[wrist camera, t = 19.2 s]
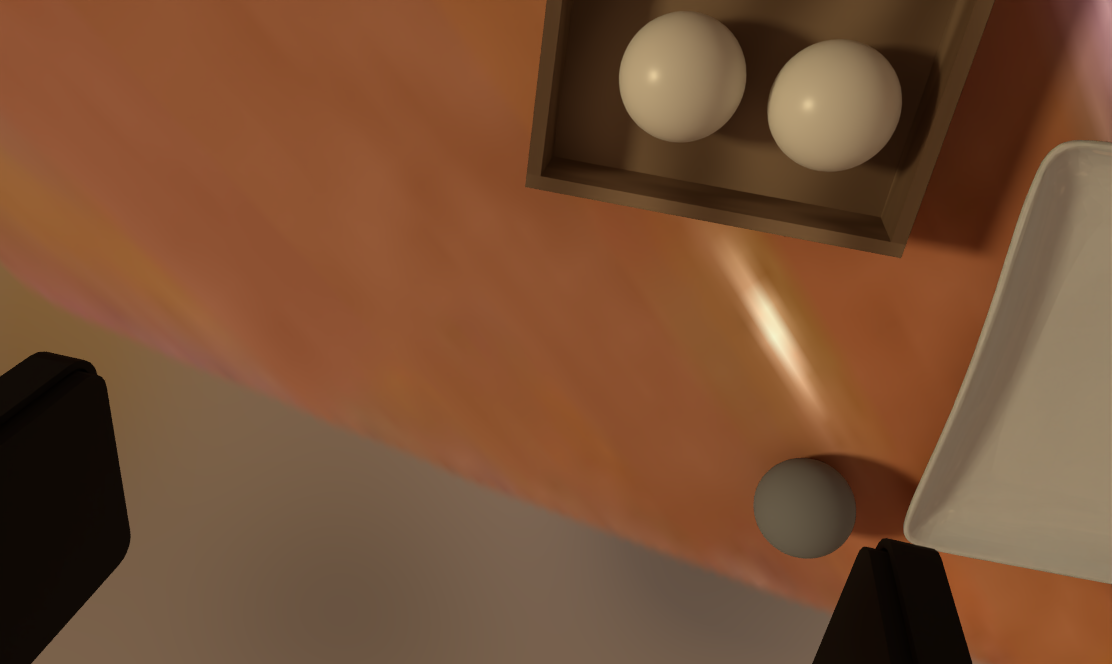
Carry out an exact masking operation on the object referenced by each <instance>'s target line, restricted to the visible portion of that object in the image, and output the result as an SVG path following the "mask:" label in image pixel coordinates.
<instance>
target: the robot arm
mask: <svg viewBox="0 0 1112 664" xmlns="http://www.w3.org/2000/svg"><path fill="white" fill-rule="evenodd" d="M129 544H130V527H129V521H128V515H127V509H126V503H125V497H124V491H123V484H122V478H121V472H120V467H119V461H118V454H117V448H116V441H115V436H114V429H113V423H112V417H111V411H110V405H109V398H108V393H107V387H106V383H105V380H104V379H103V378H102V377H101V376H98V375H97V373H96V369H95V368H94V366H93V365H92V364H91V363H90V362H88V361H85V360H81V359H77V358H72V357H68V356H63V355H58V354H54V353H50V352H37V353H35V354H33V355H31V356H29V357H28V358H27V359H25V360H24V361H22V362H21V363H19V364H18V365H16V366H15V367H13V368H12V369H10V370H9V371H8V372H6V373H5V374H3V375H2V376H0V664H31V663H32V662H33V661H34V660H35V659H36V658H37V656H38V655H39V654H40V653H41V652H42V651H43V650H44V649H45V647H46V646H47V645H48V644H49V643H50V642H51V641H52V640H53V638H54V637H55V636H56V635H57V634H58V633H59V632H60V630H61V629H62V628H63V627H64V626H65V625H66V624H67V623H68V621H69V620H70V619H71V618H72V617H73V616H74V615H75V614H76V612H77V611H78V610H79V609H80V608H81V607H82V606H83V605H84V603H85V602H86V601H87V600H88V599H89V598H90V597H91V596H92V594H93V593H94V592H95V591H96V590H97V589H98V588H99V587H100V585H101V584H102V583H103V582H104V581H105V580H106V579H107V578H108V577H109V575H110V574H111V573H112V572H113V571H114V570H115V569H116V568H117V566H118V565H119V564H120V563H121V561H122V560H123V559H124V557H125V555H126V553H127V550H128V547H129ZM812 664H972V660H971V657H970V654H969V650H968V647H967V643H966V640H965V637H964V633H963V630H962V627H961V623H960V620H959V616H958V613H957V610H956V606H955V603H954V600H953V596H952V593H951V589H950V586H949V583H948V579H947V576H946V573H945V569H944V566H943V562H942V559H941V557H940V555H939V552H938V551H936V550H935V549H933V548H928V547H924V546H919V545H915V544H910V543H906V542H901V541H897V540H892V539H888V538H885V539H882V540H881V541H880V542H879V543H878V545H877V547H876V549H873V548H869V547H862V549H861V550H860V551H859V553H858V555H857V557H856V560H855V562H854V564H853V567H852V569H851V572H850V574H849V577H848V579H847V581H846V584H845V586H844V589H843V591H842V593H841V596H840V598H839V601H838V603H837V605H836V608H835V610H834V613H833V615H832V617H831V620H830V623H829V625H828V627H827V630H826V632H825V634H824V637H823V639H822V642H821V644H820V646H819V649H818V651H817V654H816V656H815V658H814V661H813V663H812Z"/></svg>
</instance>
